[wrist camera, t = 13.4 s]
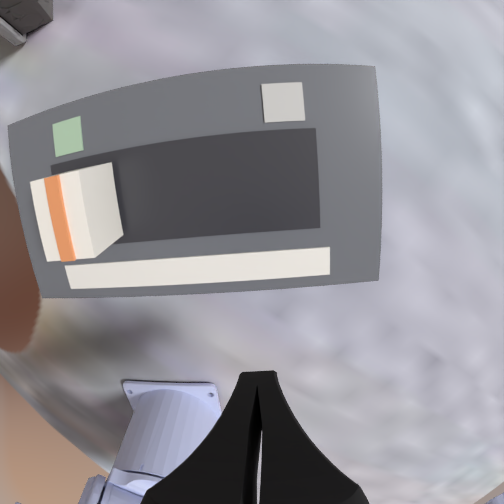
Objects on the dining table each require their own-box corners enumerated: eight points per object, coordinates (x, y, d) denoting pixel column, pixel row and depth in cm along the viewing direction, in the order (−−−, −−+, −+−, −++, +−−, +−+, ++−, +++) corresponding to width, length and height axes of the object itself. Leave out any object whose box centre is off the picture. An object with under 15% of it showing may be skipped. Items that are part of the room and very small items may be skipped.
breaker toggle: (123, 234, 17) (93, 259, 13) (79, 239, 17) (44, 263, 13) (111, 162, 15) (76, 170, 12) (66, 171, 16) (27, 182, 12)
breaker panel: (366, 264, 20) (378, 281, 18) (59, 283, 21) (41, 298, 19) (361, 74, 16) (375, 65, 14) (29, 124, 17) (6, 125, 15)
